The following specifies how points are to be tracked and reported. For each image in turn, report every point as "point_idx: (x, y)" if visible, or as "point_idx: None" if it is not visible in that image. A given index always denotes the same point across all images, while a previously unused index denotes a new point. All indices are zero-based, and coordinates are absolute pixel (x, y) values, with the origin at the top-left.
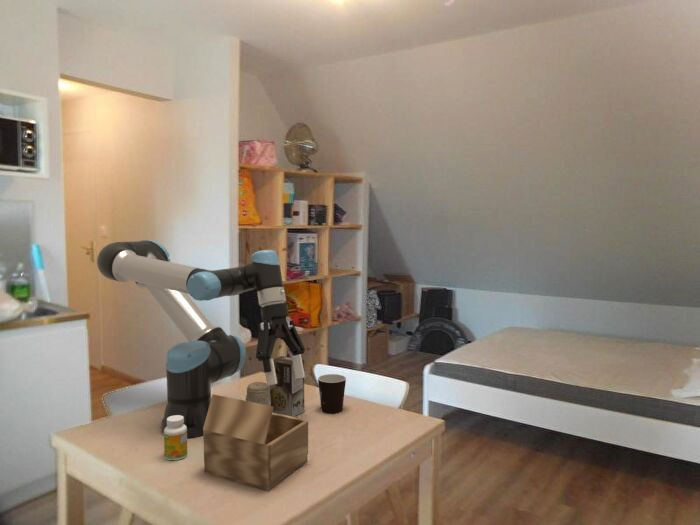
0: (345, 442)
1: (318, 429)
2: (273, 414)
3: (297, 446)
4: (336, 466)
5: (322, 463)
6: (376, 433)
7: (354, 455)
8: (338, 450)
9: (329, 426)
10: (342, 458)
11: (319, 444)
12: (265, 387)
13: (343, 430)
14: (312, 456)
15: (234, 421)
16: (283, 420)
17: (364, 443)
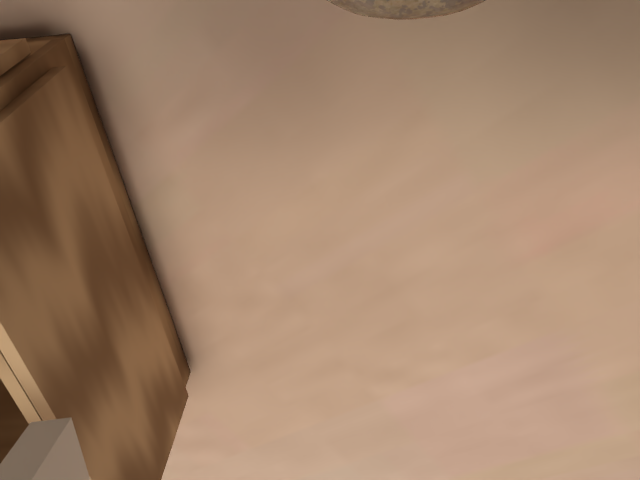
0: (453, 407)
1: (553, 242)
2: (19, 408)
3: None
4: (234, 456)
5: (217, 417)
6: (620, 461)
7: (354, 468)
8: (358, 416)
9: (629, 269)
10: (303, 449)
11: (365, 336)
12: (393, 7)
13: (597, 349)
14: (238, 367)
15: None
16: None
17: (484, 460)
